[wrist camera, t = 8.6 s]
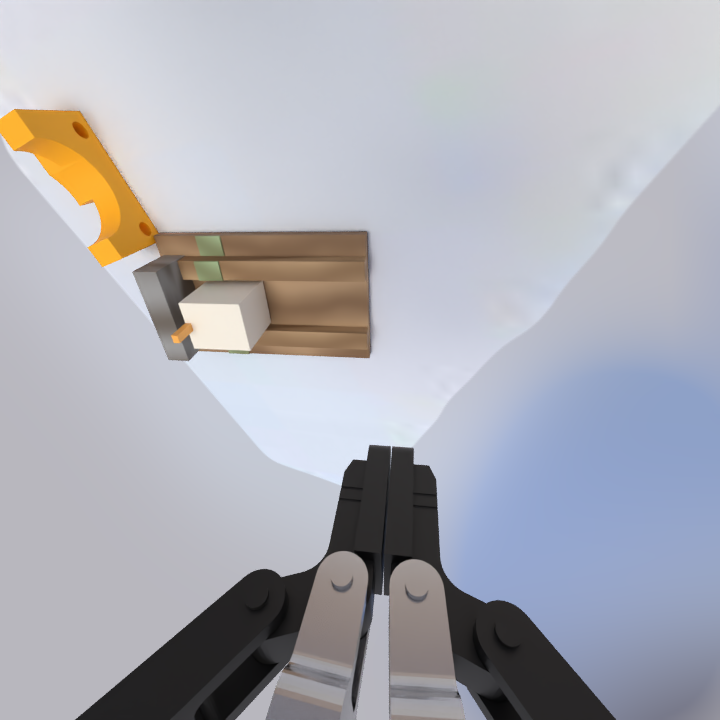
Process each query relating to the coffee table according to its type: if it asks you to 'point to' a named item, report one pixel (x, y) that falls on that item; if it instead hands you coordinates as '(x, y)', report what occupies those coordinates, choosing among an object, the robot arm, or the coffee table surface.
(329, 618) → the robot arm
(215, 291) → the white cube with stick
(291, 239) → the gauge board
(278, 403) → the coffee table surface
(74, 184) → the pipe clamp
